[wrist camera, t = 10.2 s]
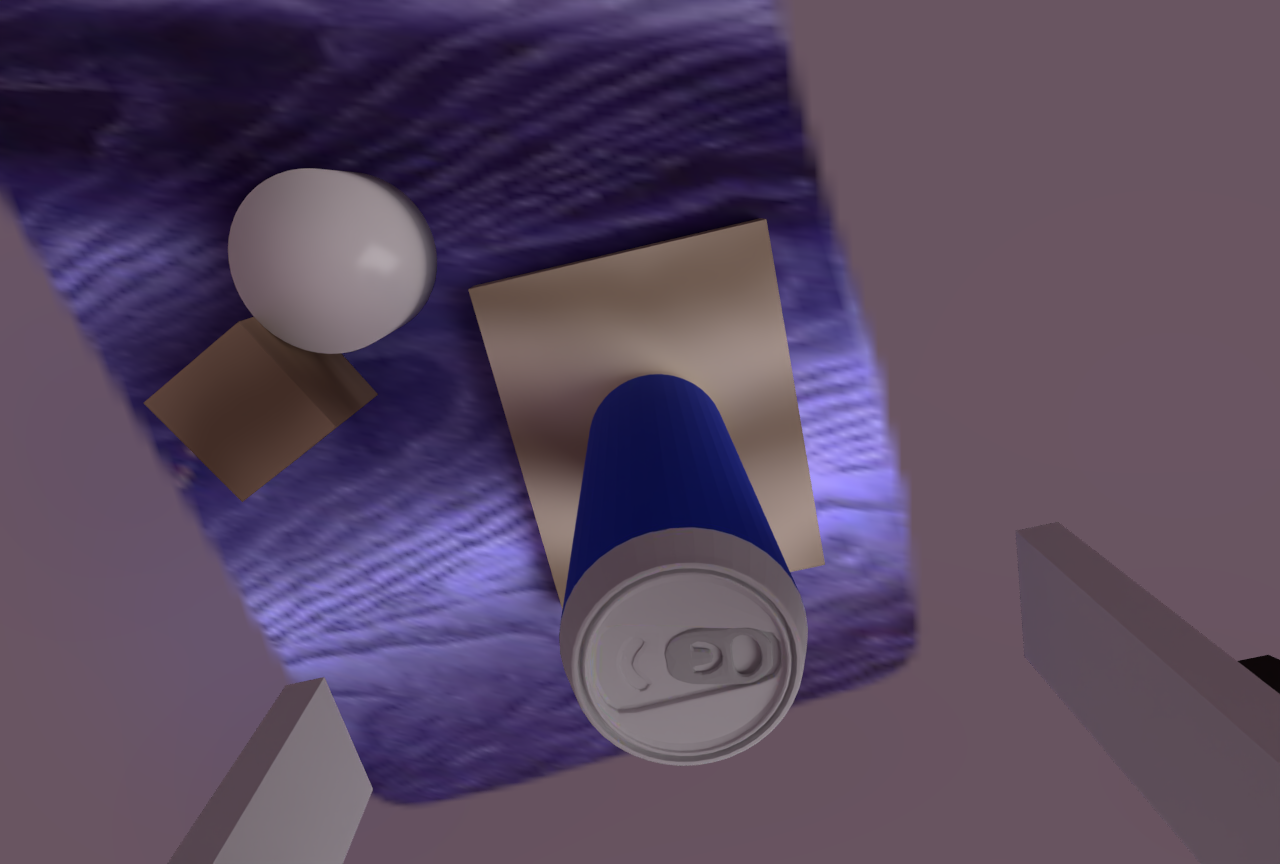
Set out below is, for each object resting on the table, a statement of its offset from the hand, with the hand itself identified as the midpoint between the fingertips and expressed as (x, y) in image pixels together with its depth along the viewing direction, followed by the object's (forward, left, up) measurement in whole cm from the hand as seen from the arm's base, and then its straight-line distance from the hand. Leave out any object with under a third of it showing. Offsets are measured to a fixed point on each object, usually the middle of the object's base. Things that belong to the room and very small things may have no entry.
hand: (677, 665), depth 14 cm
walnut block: (-4, -13, -17) cm, 22 cm away
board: (0, 0, -17) cm, 17 cm away
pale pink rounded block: (-9, -9, -17) cm, 21 cm away
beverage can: (0, 0, -16) cm, 16 cm away
